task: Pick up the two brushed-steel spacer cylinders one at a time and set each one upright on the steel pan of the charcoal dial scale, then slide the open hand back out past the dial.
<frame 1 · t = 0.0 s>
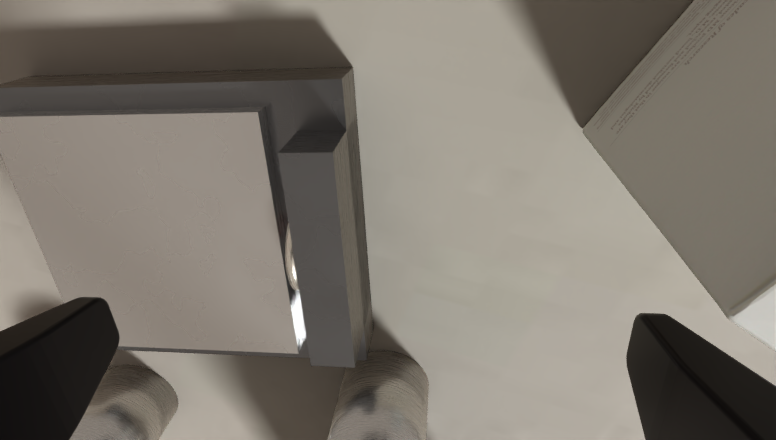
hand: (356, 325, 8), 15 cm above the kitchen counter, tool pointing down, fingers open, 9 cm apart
dial scale: (217, 214, 25), on the kitchen counter
spacer 1: (385, 383, 29), on the kitchen counter
spacer 2: (140, 394, 32), on the kitchen counter
supplement box: (707, 106, 20), on the kitchen counter
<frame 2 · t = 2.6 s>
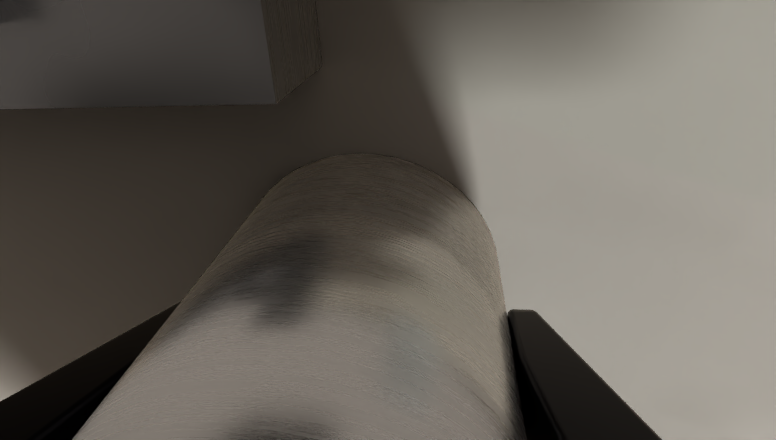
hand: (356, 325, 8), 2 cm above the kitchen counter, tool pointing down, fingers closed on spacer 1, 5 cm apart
spacer 1: (368, 274, 10), on the kitchen counter, touching gripper
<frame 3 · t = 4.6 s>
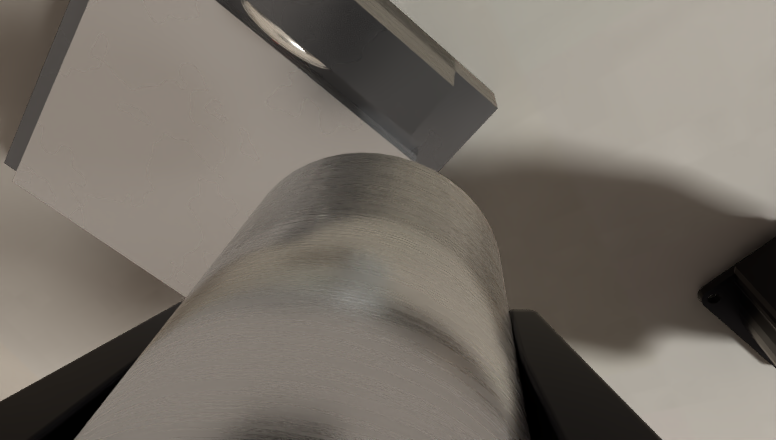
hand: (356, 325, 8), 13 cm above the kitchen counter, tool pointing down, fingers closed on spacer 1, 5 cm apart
dial scale: (250, 121, 21), on the kitchen counter
spacer 1: (370, 273, 10), point 12 cm above the kitchen counter, touching gripper
when the fingers open (6 cm above the kitchen counter, at t = 6.7 s): spacer 1 drops 1 cm, resting on dial scale.
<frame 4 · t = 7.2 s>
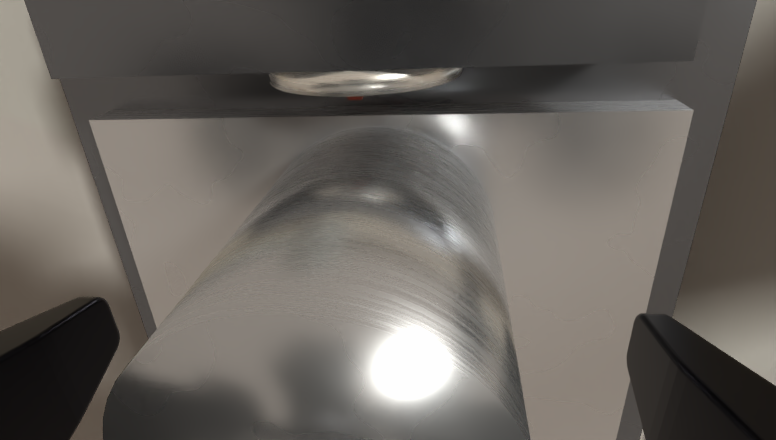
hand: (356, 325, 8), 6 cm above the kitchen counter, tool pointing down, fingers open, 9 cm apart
dial scale: (394, 230, 15), on the kitchen counter
spacer 1: (380, 236, 11), point 3 cm above the kitchen counter, touching dial scale
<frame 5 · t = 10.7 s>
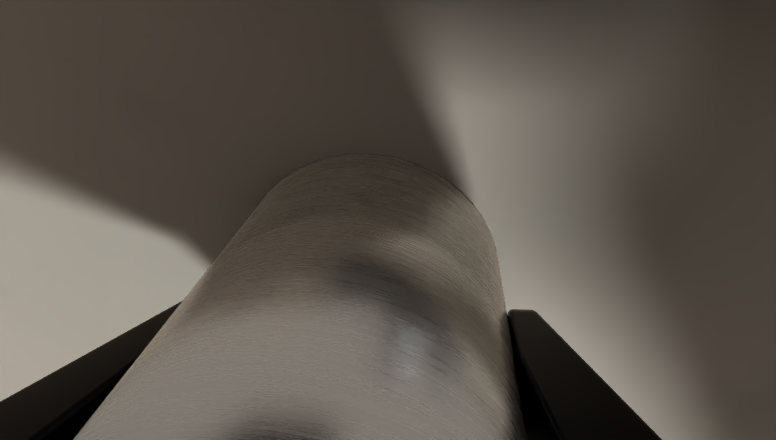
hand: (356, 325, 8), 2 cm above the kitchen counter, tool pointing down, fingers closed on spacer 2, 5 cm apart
spacer 2: (369, 274, 10), on the kitchen counter, touching gripper
when the fingers open (6 cm above the kitchen counter, at t = 14.8 s): spacer 2 drops 1 cm, resting on dial scale.
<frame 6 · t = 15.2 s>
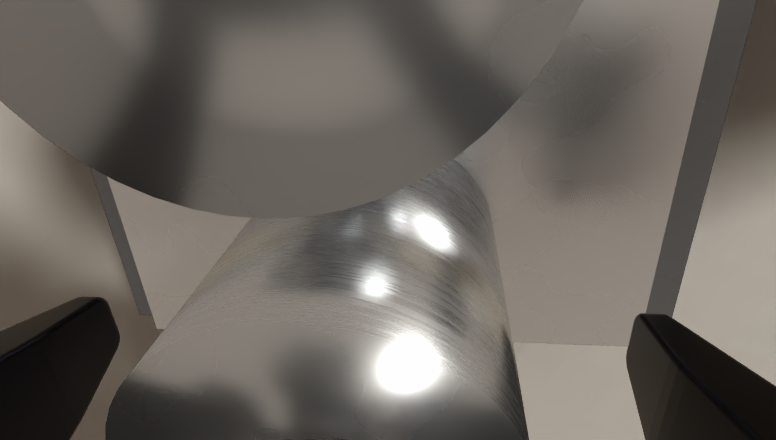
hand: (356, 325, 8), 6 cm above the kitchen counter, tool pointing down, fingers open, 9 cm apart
dial scale: (383, 8, 12), on the kitchen counter
spacer 2: (379, 239, 11), point 3 cm above the kitchen counter, touching dial scale
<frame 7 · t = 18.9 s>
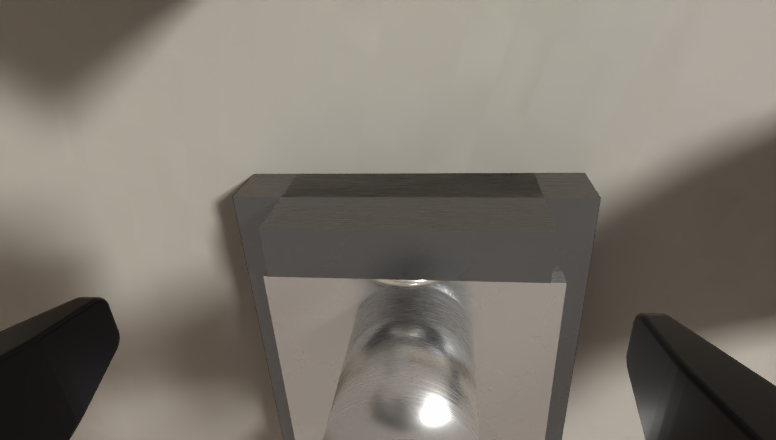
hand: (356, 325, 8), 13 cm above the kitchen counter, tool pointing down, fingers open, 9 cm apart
dial scale: (416, 315, 24), on the kitchen counter
spacer 1: (412, 333, 21), point 3 cm above the kitchen counter, touching dial scale
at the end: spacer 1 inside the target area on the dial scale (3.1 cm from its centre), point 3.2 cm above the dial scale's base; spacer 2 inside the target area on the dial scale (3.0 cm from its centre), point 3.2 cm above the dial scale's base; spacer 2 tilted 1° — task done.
